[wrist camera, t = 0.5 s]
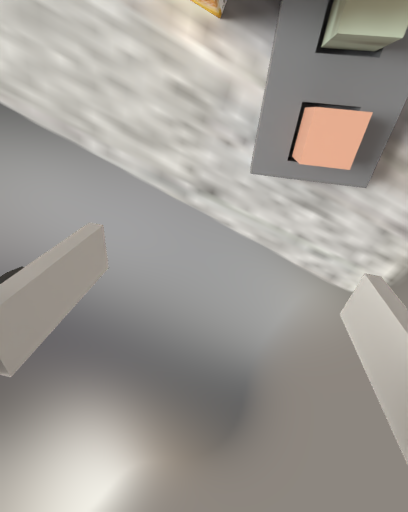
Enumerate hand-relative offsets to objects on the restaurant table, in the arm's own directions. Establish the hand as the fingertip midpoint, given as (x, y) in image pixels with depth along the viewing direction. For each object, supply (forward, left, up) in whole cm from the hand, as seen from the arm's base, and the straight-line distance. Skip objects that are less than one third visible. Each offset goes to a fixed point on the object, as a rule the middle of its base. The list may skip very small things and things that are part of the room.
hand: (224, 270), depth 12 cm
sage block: (-15, +8, -22) cm, 28 cm away
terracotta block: (-5, +9, -22) cm, 24 cm away
